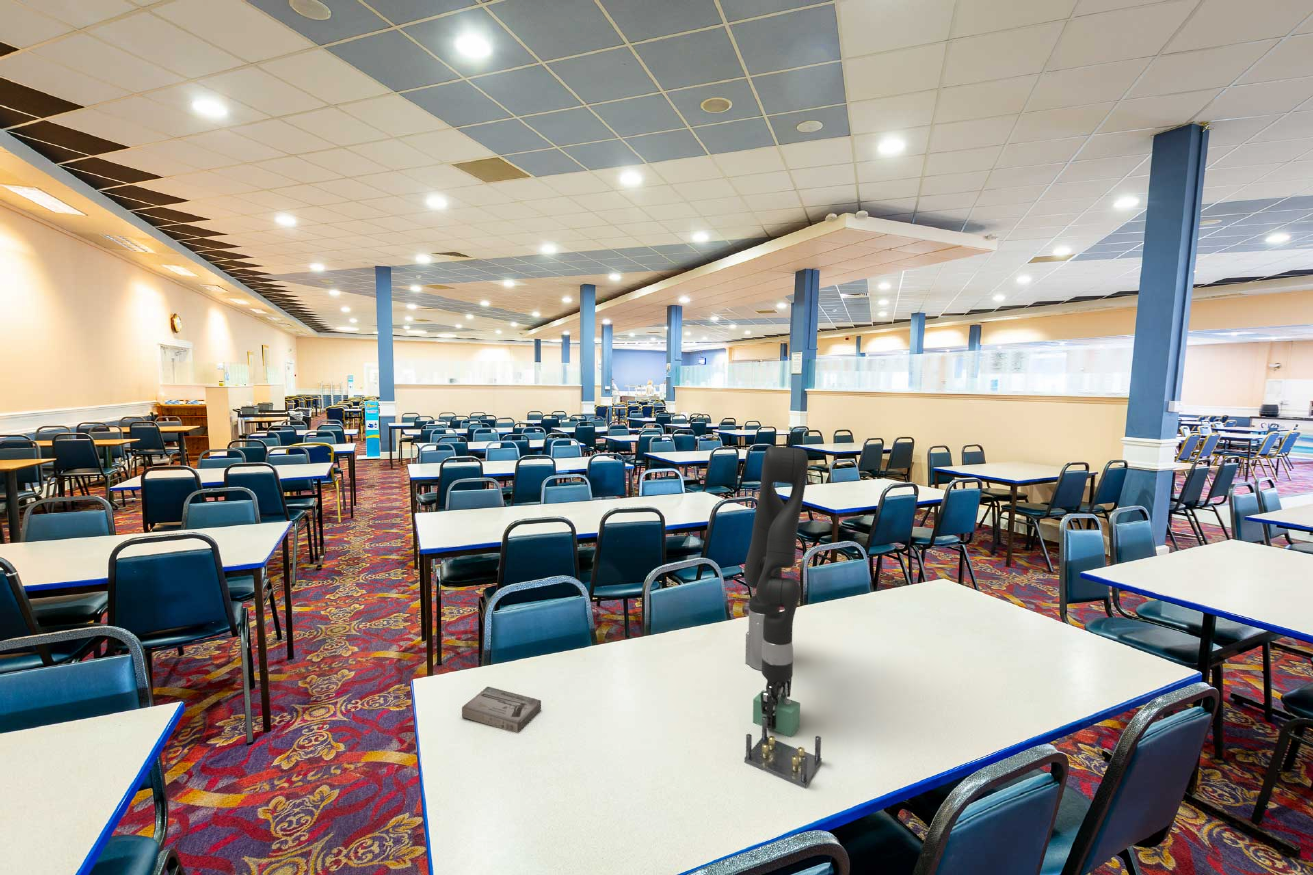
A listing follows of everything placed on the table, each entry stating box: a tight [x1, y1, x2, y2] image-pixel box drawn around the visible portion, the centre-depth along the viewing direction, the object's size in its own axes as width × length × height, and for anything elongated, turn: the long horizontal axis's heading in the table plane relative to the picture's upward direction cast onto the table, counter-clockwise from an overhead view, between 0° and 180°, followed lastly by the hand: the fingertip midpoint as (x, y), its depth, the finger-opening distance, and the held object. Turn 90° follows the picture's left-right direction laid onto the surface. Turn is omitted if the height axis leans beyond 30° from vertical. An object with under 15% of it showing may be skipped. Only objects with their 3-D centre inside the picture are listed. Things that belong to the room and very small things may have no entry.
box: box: [461, 686, 542, 734], centre depth 141 cm, size 11×17×3 cm, turn 69°
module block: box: [752, 689, 801, 738], centre depth 137 cm, size 10×6×7 cm, turn 53°
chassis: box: [744, 717, 823, 789], centre depth 123 cm, size 14×10×6 cm
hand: (776, 721), depth 137 cm, fingers closed on module block, 5 cm apart
